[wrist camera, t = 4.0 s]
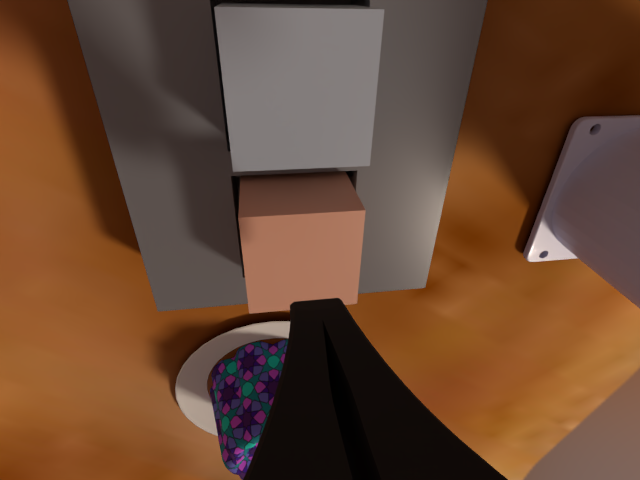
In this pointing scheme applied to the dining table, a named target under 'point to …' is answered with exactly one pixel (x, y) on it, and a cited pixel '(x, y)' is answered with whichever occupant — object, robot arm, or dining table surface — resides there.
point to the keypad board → (224, 185)
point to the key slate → (299, 83)
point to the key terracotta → (300, 238)
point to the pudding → (234, 388)
